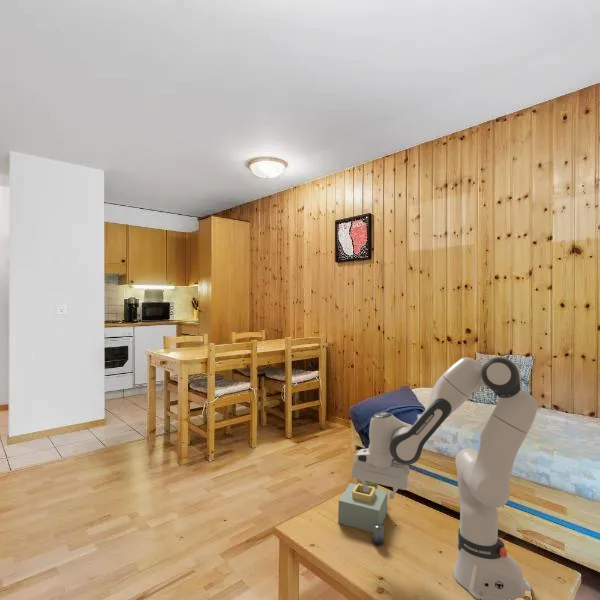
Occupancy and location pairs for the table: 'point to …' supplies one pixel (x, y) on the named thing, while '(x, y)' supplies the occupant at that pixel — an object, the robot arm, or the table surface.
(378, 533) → the cylinder
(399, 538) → the table surface
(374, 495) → the box with square opening
